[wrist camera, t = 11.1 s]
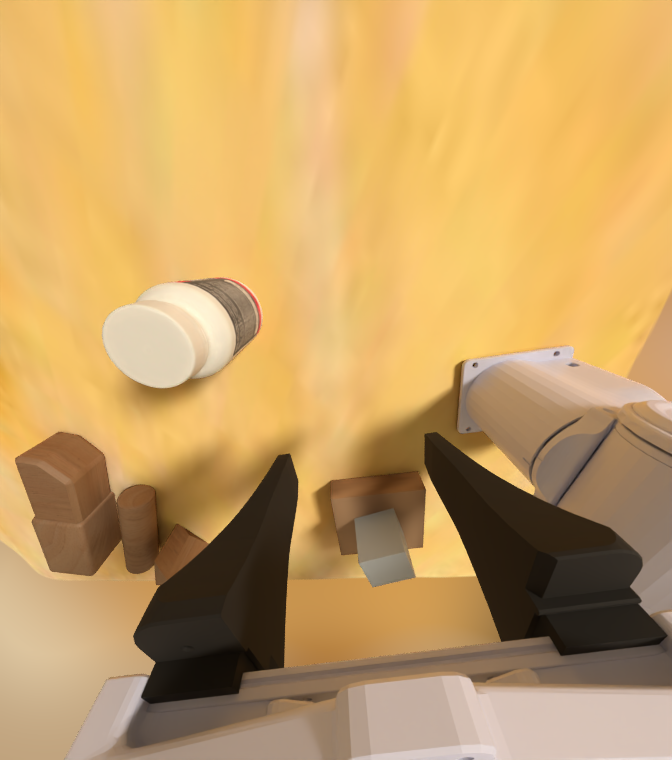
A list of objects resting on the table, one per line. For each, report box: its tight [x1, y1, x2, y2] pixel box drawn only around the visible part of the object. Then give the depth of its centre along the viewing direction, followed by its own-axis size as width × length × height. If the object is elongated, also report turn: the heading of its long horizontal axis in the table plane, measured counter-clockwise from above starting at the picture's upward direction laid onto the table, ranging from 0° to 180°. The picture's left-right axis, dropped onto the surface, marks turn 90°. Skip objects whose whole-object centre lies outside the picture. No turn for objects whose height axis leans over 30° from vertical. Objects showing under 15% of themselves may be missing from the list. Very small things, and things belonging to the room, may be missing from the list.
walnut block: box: [331, 471, 426, 555], centre depth 29 cm, size 10×10×3 cm
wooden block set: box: [15, 432, 209, 585], centre depth 27 cm, size 17×6×18 cm
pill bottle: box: [102, 277, 263, 388], centre depth 15 cm, size 5×5×10 cm
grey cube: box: [354, 508, 416, 587], centre depth 26 cm, size 4×4×4 cm
